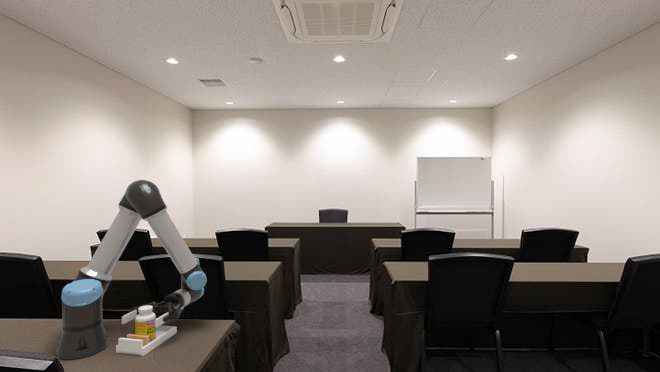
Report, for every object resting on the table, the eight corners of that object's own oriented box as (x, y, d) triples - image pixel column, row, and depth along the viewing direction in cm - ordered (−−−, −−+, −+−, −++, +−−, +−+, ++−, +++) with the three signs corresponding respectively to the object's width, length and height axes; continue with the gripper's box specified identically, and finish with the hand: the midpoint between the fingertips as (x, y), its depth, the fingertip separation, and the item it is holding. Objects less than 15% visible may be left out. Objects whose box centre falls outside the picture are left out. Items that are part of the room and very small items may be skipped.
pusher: (126, 346, 124) (126, 335, 124) (128, 344, 125) (128, 333, 125) (147, 348, 122) (147, 337, 122) (149, 347, 123) (149, 335, 123)
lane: (115, 352, 121) (115, 338, 121) (152, 330, 139) (152, 318, 139) (143, 355, 119) (143, 341, 119) (176, 332, 136) (176, 320, 136)
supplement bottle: (147, 347, 124) (146, 311, 123) (131, 345, 125) (130, 310, 125) (160, 338, 130) (159, 304, 130) (144, 337, 131) (144, 303, 131)
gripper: (203, 312, 143) (170, 335, 122) (150, 307, 148) (109, 329, 127) (203, 294, 142) (169, 314, 122) (150, 290, 147) (109, 308, 127)
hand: (138, 322), depth 124 cm, fingers open, 13 cm apart
